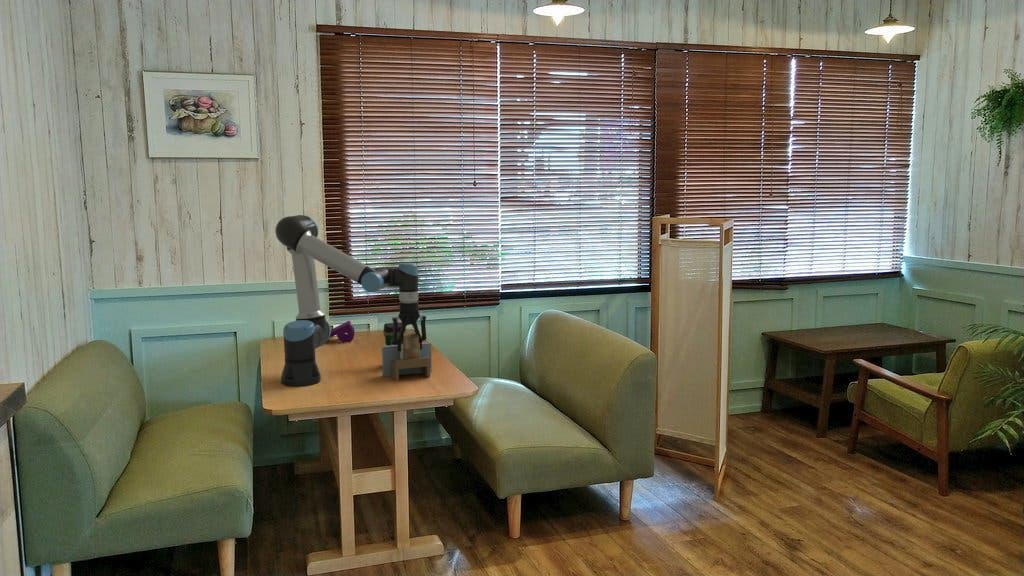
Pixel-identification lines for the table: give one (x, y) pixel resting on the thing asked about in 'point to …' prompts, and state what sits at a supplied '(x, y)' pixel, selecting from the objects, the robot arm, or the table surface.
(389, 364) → the wall board
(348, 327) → the mounting bracket
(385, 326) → the coffee jar
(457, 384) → the table surface
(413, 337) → the brown cylinder
